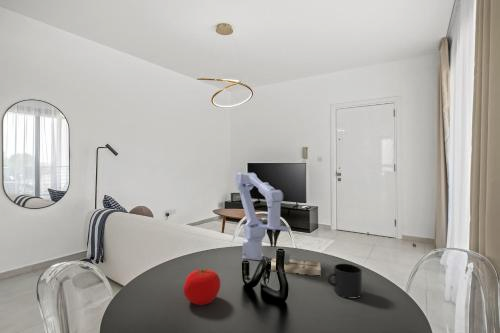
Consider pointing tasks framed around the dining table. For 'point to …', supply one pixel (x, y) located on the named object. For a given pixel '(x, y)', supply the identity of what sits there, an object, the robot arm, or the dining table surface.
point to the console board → (299, 267)
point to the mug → (347, 280)
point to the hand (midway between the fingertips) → (273, 246)
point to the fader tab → (287, 258)
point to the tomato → (201, 286)
